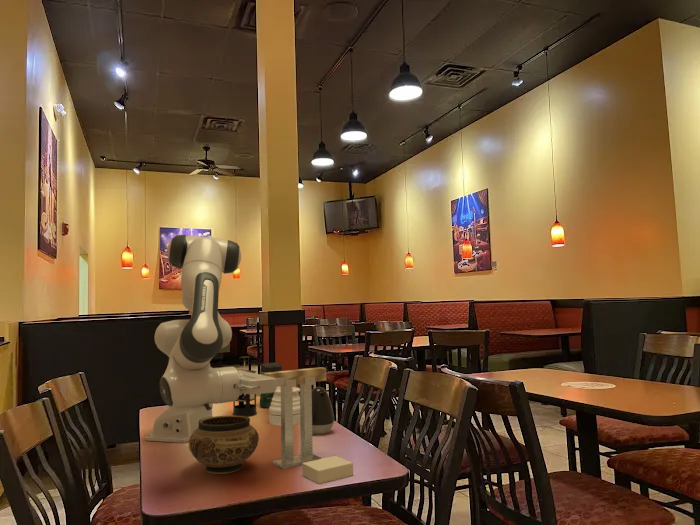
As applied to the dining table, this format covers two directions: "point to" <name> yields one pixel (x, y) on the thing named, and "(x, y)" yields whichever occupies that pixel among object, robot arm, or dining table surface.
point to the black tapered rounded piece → (321, 411)
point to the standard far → (306, 421)
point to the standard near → (287, 426)
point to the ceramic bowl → (223, 443)
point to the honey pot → (276, 407)
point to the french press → (245, 408)
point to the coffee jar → (267, 397)
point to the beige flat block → (327, 469)
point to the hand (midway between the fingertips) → (276, 379)
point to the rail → (300, 374)
